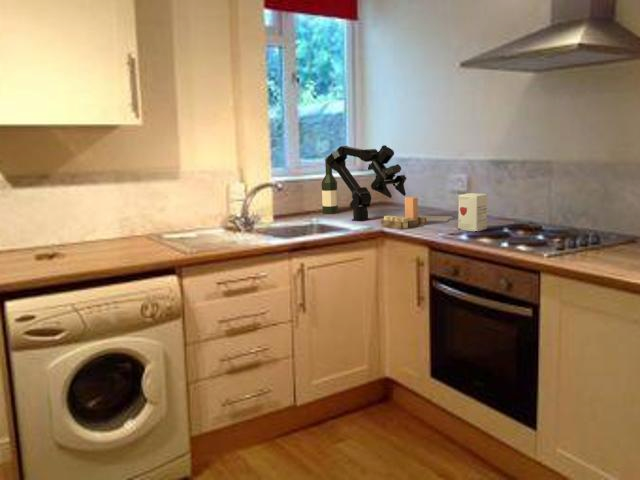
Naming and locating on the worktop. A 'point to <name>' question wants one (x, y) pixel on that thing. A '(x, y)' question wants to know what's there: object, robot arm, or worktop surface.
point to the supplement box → (472, 212)
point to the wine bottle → (329, 192)
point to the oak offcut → (402, 219)
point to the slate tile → (437, 218)
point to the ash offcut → (390, 218)
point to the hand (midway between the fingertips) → (398, 196)
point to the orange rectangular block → (411, 207)
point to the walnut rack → (399, 225)
